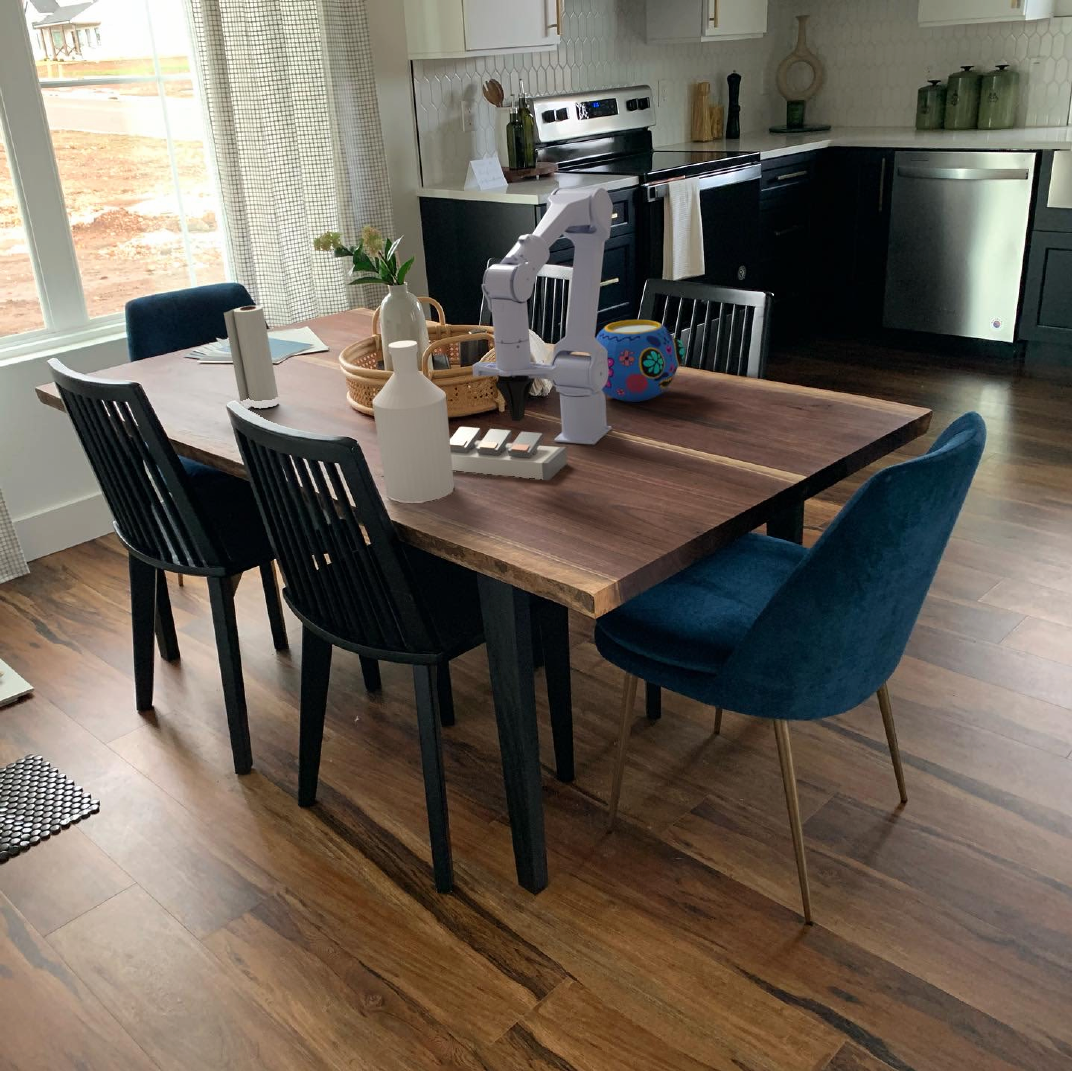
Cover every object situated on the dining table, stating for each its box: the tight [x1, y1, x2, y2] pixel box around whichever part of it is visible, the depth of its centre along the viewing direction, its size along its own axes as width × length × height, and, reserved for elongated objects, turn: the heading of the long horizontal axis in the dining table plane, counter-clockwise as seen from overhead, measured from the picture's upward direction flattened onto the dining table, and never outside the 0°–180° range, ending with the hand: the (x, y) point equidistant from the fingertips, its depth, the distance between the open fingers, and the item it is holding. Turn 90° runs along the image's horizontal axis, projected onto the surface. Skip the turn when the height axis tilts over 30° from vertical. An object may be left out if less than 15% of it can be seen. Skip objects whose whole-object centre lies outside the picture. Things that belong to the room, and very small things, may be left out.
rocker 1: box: [450, 426, 482, 453], centre depth 188 cm, size 6×4×1 cm, turn 156°
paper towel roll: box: [223, 305, 279, 402], centre depth 227 cm, size 7×6×21 cm
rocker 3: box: [508, 431, 544, 458], centre depth 183 cm, size 6×4×1 cm, turn 156°
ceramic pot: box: [595, 319, 686, 403], centre depth 215 cm, size 18×18×15 cm
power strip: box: [449, 437, 568, 481], centre depth 188 cm, size 8×29×4 cm, turn 66°
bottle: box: [371, 340, 455, 502], centre depth 174 cm, size 12×12×25 cm
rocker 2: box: [476, 428, 513, 456], centre depth 185 cm, size 6×4×1 cm, turn 156°
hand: (518, 419), depth 179 cm, fingers closed
